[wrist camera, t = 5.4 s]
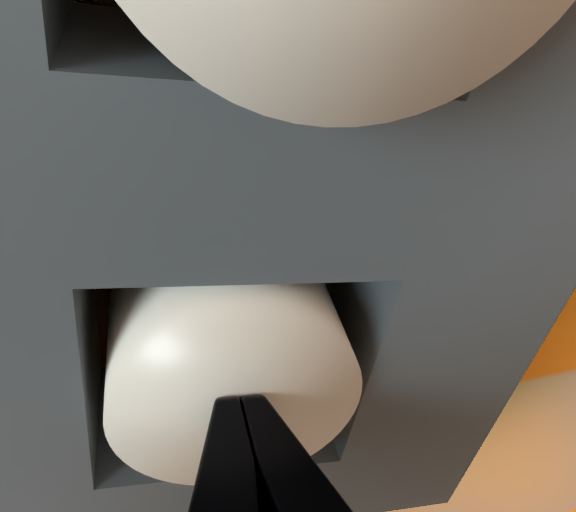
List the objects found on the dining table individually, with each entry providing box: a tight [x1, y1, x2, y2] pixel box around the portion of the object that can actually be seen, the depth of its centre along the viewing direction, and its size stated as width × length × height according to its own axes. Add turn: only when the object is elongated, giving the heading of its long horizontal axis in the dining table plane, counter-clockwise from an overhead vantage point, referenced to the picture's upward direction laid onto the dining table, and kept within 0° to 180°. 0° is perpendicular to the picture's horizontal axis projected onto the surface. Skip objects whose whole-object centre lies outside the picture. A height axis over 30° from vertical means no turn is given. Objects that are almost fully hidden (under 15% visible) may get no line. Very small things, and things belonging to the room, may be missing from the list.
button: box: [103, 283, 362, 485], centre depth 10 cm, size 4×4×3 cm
